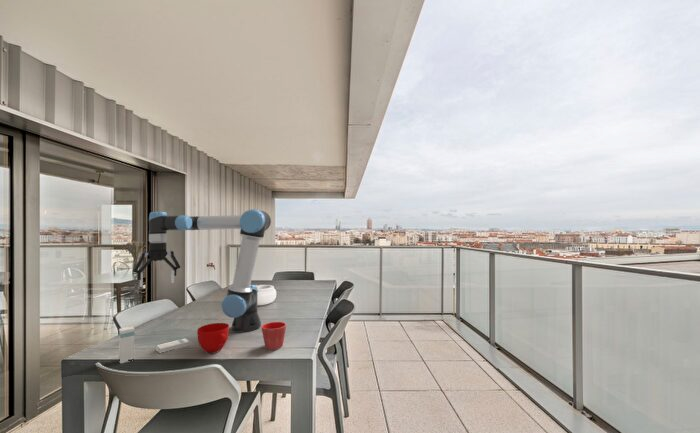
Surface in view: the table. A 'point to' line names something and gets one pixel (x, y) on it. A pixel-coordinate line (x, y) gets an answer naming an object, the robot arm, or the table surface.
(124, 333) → the stub
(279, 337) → the flower pot
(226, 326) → the ceramic cup
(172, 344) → the strip
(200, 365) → the table surface
